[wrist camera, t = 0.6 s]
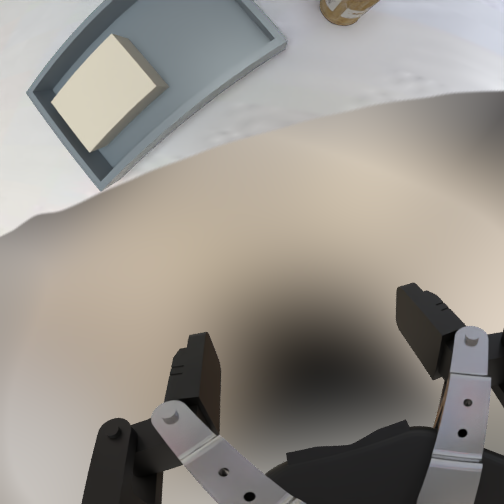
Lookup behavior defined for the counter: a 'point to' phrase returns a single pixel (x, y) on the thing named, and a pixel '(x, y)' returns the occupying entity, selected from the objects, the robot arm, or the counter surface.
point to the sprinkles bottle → (345, 10)
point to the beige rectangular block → (108, 92)
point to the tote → (159, 68)
